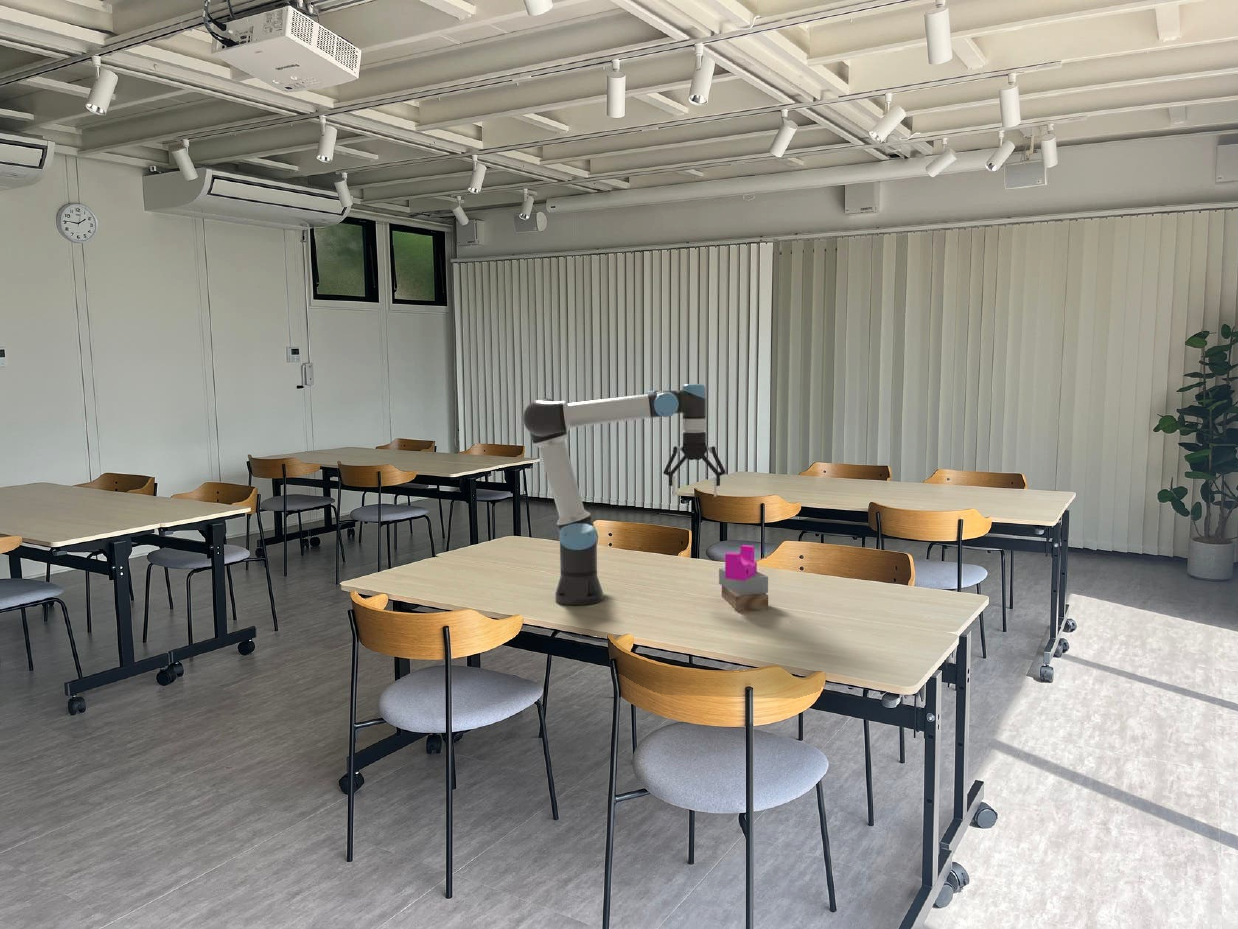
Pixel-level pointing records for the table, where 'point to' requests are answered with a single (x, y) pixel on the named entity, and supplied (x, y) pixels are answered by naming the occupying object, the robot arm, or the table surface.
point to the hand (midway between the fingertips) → (694, 496)
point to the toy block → (740, 564)
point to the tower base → (745, 600)
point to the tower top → (745, 584)
